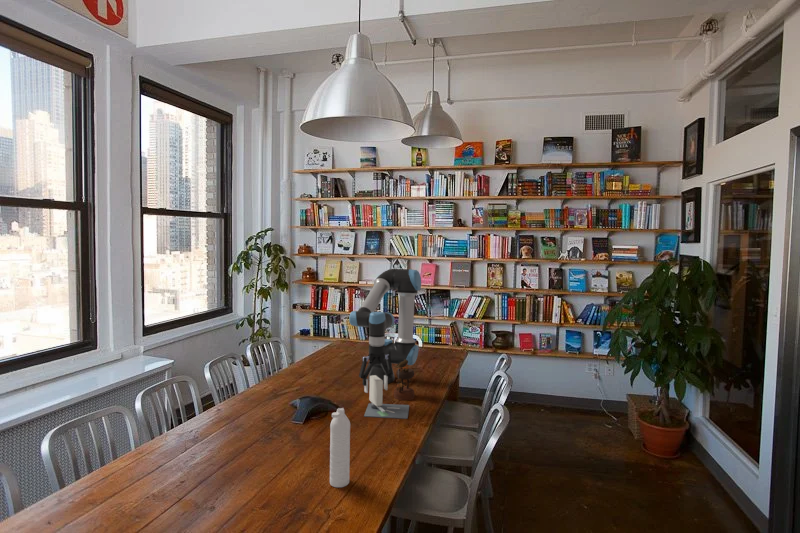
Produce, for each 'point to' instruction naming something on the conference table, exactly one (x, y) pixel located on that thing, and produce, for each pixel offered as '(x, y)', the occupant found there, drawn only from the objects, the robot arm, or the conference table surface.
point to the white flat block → (376, 392)
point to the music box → (404, 382)
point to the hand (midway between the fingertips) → (375, 390)
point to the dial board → (388, 411)
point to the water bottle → (339, 449)
